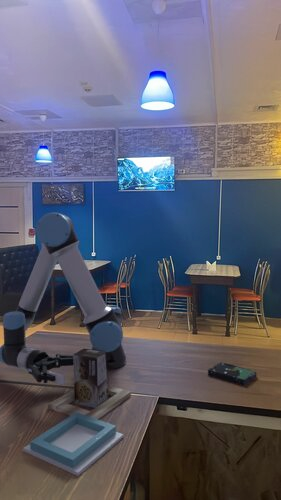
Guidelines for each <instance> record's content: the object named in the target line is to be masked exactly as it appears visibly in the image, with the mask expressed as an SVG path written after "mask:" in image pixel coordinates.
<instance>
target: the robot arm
mask: <svg viewBox="0 0 281 500" xmlns="http://www.w3.org/2000/svg"><path fill="white" fill-rule="evenodd" d="M35 230H36V236H37V238H38V240H39V241H40V244H41V248H40V251H39V254H38V256H37V257H36V261H35V263H34V266H33V269H32V271H31V272H30V273H31V274H30V275H29V278H28V280H27V283H26V285H25V287H24V290H23V292H22V295H21V297H20V300H19V303H18V305H17V307H16V309H15V311H8V312H6V313H5V314H4V315H3V317H2V318H3V320H2V321H3V322H2V326H3V327H2V328H3V344H2V345H1V346H0V362H1V363H3V364H5V365H6V366H9V367H15V368H18V369H22V370H24V371H27V372H28V374H30V375H31V376H32V377H33V378H34V379H35V381H36V382H37V383H38V384H39V383H42V381H43V384H48V382H52V383H55V384H58V385H59V384H60V385H62V386H64V385H66V375H64V374H60V373H57V372H53V371H51V370H52V369H58V368H59V369H60V368H61V367H68V366H69V367H74V365H73V354H59V353H56V354H55V356H49V355H48V353H47V352H46V351H43V350H40V349H37V348H32V347H27V345H26V343H27V342H26V332H27V330H28V329H29V328H30V327H31V326H32V325H33V323H34V321H35V316H36V314H37V311H38V309H39V306H40V304H41V301H42V299H43V297H44V294H45V291H46V289H47V287H48V285H49V281H50V279H51V277H52V276H53V272H54V270H55V268H56V265H57V263H58V265H59V267H60V269H61V271H62V272H63V275H64V277H65V279H66V281H67V282H68V285H69V287H70V290H71V292H72V293H73V295H74V297H75V299H76V301H77V303H78V305H79V307H80V309H81V311H82V314H83V315H84V319H83V325H84V326H85V329H86V330H87V332H88V335H89V341H90V342H89V343H90V344H91V346H92V347H91V349H92V350H98V351H105V352H107V370H113V368H115V369H118V367H119V368H121V367H124V366H125V365H124V364H126V363H127V357H126V353H125V350H124V347H123V344H122V341H123V337H124V331H123V325H122V314H123V313H122V309H121V308H120V307H119V306H109V305H106V303H105V301H104V298H103V296H102V294H101V293H100V290H99V288H98V286H97V284H96V282H95V280H94V278H93V275H92V274H91V272H90V270H89V268H88V266H87V263H86V261H85V260H84V258H83V256H82V254H81V252H80V250H79V243H80V240H79V238H78V235H77V234H76V232H75V227H74V222H73V221H72V220H71V217H69V216H68V215H66V214H63V213H60V212H55V211H54V212H49V213H47V214H44V215H43V216H41V218H39V220H38V222H37V224H36V229H35Z"/></svg>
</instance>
